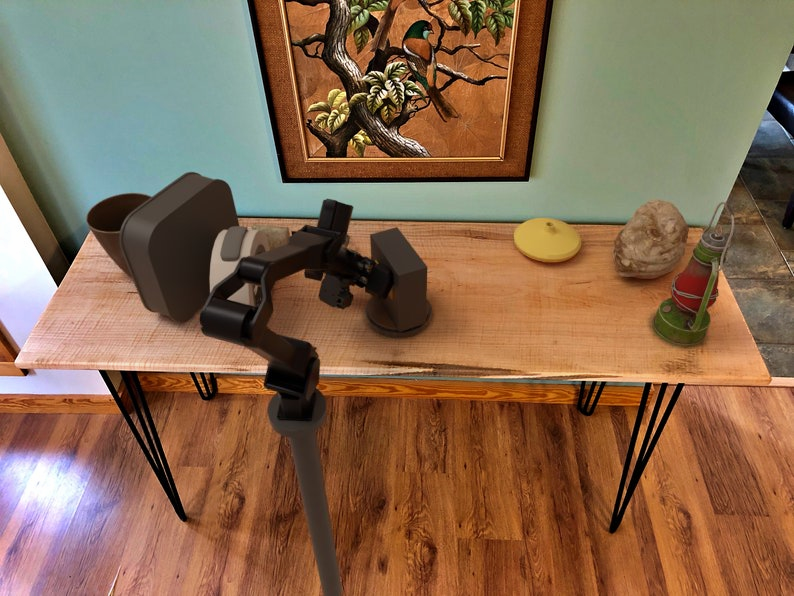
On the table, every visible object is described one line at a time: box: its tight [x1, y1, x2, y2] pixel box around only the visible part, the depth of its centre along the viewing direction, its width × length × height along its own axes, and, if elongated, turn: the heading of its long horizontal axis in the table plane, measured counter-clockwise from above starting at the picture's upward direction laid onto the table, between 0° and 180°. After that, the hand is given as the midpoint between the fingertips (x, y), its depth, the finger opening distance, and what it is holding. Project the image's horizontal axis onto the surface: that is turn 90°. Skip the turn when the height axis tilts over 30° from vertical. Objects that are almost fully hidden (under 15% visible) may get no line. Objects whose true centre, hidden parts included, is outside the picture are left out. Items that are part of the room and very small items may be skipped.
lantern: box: [651, 201, 735, 349], centre depth 119 cm, size 14×11×30 cm
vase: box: [513, 217, 582, 263], centre depth 146 cm, size 16×16×7 cm
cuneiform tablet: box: [251, 223, 298, 250], centre depth 147 cm, size 7×4×12 cm
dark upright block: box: [367, 226, 430, 332], centre depth 126 cm, size 13×14×16 cm
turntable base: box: [365, 298, 433, 339], centre depth 132 cm, size 14×14×2 cm
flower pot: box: [85, 192, 152, 279], centre depth 139 cm, size 15×15×16 cm
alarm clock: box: [210, 225, 273, 307], centre depth 127 cm, size 21×8×20 cm, turn 179°
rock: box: [612, 199, 690, 280], centre depth 138 cm, size 18×16×15 cm
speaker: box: [119, 171, 240, 323], centre depth 131 cm, size 25×9×25 cm, turn 154°
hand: (372, 274), depth 131 cm, fingers closed, pressing on dark upright block
